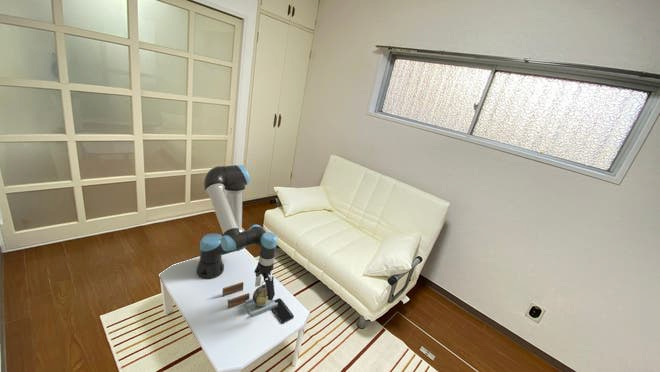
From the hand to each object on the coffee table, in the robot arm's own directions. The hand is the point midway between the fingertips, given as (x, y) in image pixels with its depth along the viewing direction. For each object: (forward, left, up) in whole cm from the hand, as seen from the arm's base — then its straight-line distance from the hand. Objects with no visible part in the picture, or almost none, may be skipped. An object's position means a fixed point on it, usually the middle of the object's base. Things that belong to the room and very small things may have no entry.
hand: (262, 294), depth 140 cm
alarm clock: (0, +1, -8) cm, 8 cm away
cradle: (0, 0, -8) cm, 8 cm away
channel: (-11, -10, -8) cm, 17 cm away
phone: (+8, +8, -8) cm, 14 cm away
